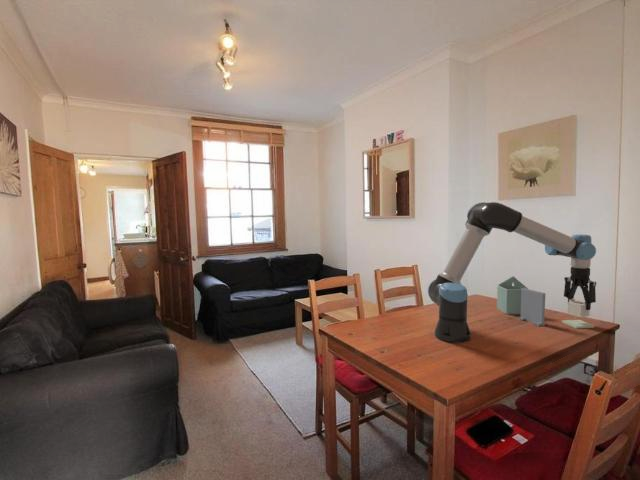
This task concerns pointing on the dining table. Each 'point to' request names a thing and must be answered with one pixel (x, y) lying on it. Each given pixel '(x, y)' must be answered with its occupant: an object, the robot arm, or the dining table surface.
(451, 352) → the dining table surface
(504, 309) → the planter
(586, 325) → the pad
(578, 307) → the letter cube
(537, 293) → the board
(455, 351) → the dining table surface
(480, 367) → the dining table surface
